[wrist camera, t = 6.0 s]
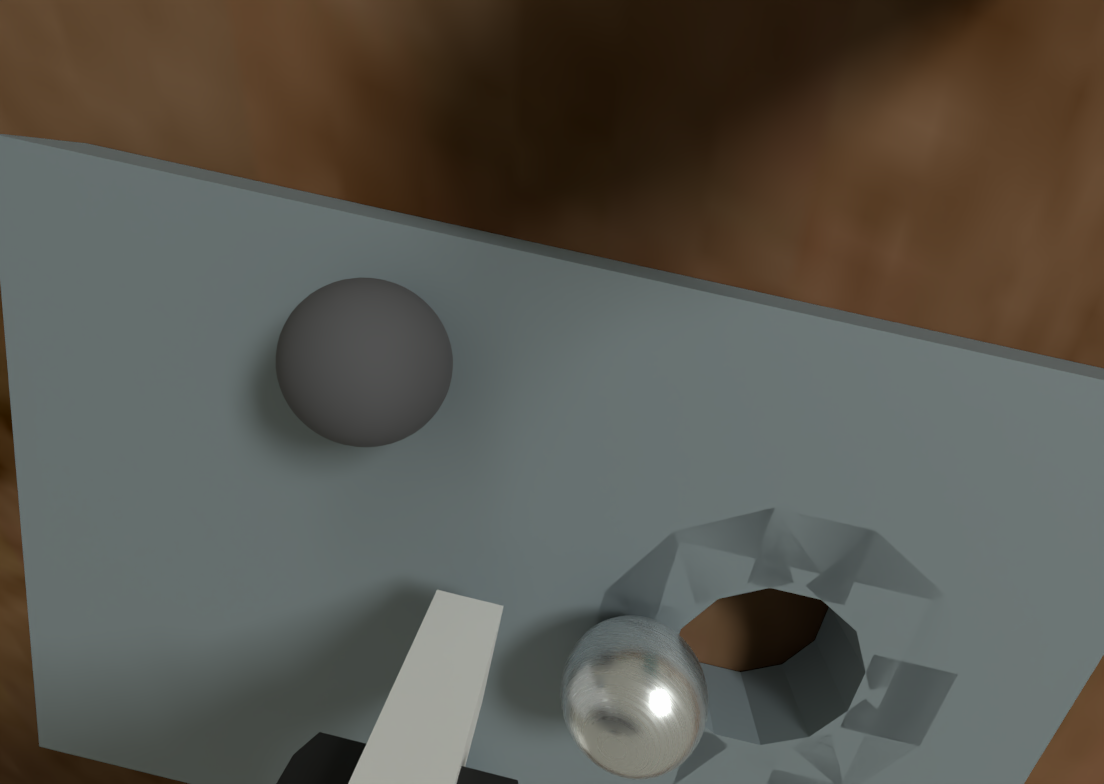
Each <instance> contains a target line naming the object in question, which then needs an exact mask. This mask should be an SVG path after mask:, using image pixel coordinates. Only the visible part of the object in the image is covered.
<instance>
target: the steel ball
mask: <svg viewBox="0 0 1104 784" xmlns="http://www.w3.org/2000/svg"><path fill="white" fill-rule="evenodd" d="M561 705H562V712H563V716H564V719H565V722H566V725H567V727H568V730H569V732H570V734H571V736H572V738H573V740H574V741H575V743H576V744H577V746H578V747H579V749H580V750H581V751H582V752H583V754H584V755H585V756H586V757H587V758H588V759H589V760H591V761H592V762H593V763H594V764H595V765H597V766H598V767H600V768H601V769H603V770H605V771H607V772H609V773H611V774H613V775H616V776H619V777H622V778H627V779H634V780H642V779H651V778H656V777H659V776H662V775H664V774H666V773H669V772H671V771H672V770H674V769H675V768H677V767H678V766H680V765H681V764H682V763H683V762H684V761H685V760H686V759H687V758H688V757H689V756H690V755H691V754H692V752H693V751H694V749H695V748H696V747H697V745H698V743H699V741H700V739H701V737H702V735H703V732H704V728H705V725H706V721H707V716H708V706H709V699H708V688H707V683H706V679H705V676H704V673H703V670H702V667H701V665H700V663H699V661H698V659H697V657H696V655H695V654H694V652H693V650H692V649H691V647H690V646H689V645H688V644H687V643H686V641H685V640H684V639H683V638H682V637H681V636H680V635H679V634H677V633H676V632H675V631H673V630H672V629H671V628H669V627H668V626H666V625H664V624H663V623H660V622H658V621H656V620H653V619H651V618H647V617H642V616H634V615H625V616H618V617H614V618H610V619H607V620H605V621H602V622H600V623H599V624H597V625H595V626H594V627H592V628H591V629H589V630H588V631H587V632H586V633H585V634H584V635H583V636H582V637H581V638H580V639H579V640H578V642H577V643H576V644H575V646H574V647H573V649H572V650H571V652H570V654H569V656H568V658H567V661H566V664H565V666H564V670H563V674H562V680H561Z"/></svg>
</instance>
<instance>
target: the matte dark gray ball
mask: <svg viewBox="0 0 1104 784" xmlns="http://www.w3.org/2000/svg"><path fill="white" fill-rule="evenodd" d="M452 371H453V354H452V349H451V344H450V341H449V337H448V334H447V332H446V330H445V328H444V326H443V324H442V322H441V320H440V319H439V317H438V316H437V314H436V313H435V312H434V311H433V309H432V308H431V307H430V306H429V305H428V304H427V303H426V302H425V301H424V300H423V299H422V298H420V297H419V296H418V295H416V294H415V293H414V292H412V291H410V290H409V289H407V288H405V287H403V286H401V285H398V284H396V283H393V282H389V281H386V280H382V279H376V278H361V277H359V278H351V279H344V280H340V281H336V282H333V283H331V284H328V285H326V286H324V287H322V288H319V289H318V290H316V291H315V292H313V293H311V294H310V295H309V296H308V297H306V298H305V299H304V300H303V301H302V302H301V303H300V304H298V306H297V307H296V308H295V309H294V310H293V311H292V313H291V314H290V316H289V317H288V319H287V321H286V322H285V324H284V326H283V329H282V331H281V333H280V336H279V340H278V343H277V350H276V374H277V379H278V383H279V386H280V389H281V391H282V394H283V396H284V398H285V400H286V402H287V404H288V405H289V407H290V408H291V410H292V411H293V413H294V414H295V415H296V416H297V417H298V418H299V419H300V420H301V421H302V422H303V423H304V424H305V425H306V426H307V427H308V428H310V429H311V430H313V431H314V432H315V433H317V434H319V435H320V436H322V437H324V438H326V439H328V440H331V441H333V442H336V443H340V444H343V445H349V446H355V447H377V446H383V445H387V444H392V443H395V442H397V441H400V440H402V439H404V438H406V437H408V436H410V435H412V434H414V433H415V432H417V431H418V430H419V429H421V428H422V427H423V426H424V425H425V424H426V423H427V422H429V421H430V420H431V419H432V418H433V416H434V415H435V414H436V412H437V411H438V410H439V408H440V406H441V405H442V403H443V401H444V399H445V398H446V395H447V393H448V390H449V387H450V383H451V378H452Z"/></svg>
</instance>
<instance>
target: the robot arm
mask: <svg viewBox="0 0 1104 784" xmlns="http://www.w3.org/2000/svg"><path fill="white" fill-rule="evenodd" d="M503 607H504V606H502V605H498V604H494V603H490V602H486V601H481V600H477V599H473V598H469V597H465V596H461V595H457V594H453V593H449V592H445V591H441V590H437V591H436V593H435V595H434V598H433V600H432V602H431V604H430V606H429V608H428V611H427V613H426V615H425V617H424V619H423V622H422V624H421V626H420V628H419V630H418V632H417V635H416V637H415V639H414V641H413V643H412V646H411V648H410V650H409V652H408V654H407V656H406V659H405V661H404V663H403V665H402V667H401V670H400V672H399V674H398V676H397V678H396V680H395V683H394V685H393V687H392V689H391V691H390V694H389V696H388V698H387V700H386V702H385V705H384V707H383V709H382V711H381V713H380V715H379V718H378V720H377V722H376V724H375V726H374V729H373V731H372V733H371V735H370V737H369V739H368V742H367V744H366V743H362V742H358V741H354V740H350V739H346V738H342V737H338V736H334V735H330V734H326V733H322V732H319V733H318V734H317V735H315V736H314V737H313V738H312V739H311V740H310V741H308V742H307V743H306V744H305V745H304V746H303V747H302V748H300V749H299V750H298V751H297V752H296V753H295V754H293V756H292V757H291V759H290V761H289V763H288V764H287V766H286V768H285V769H284V771H283V773H282V775H281V776H280V778H279V780H278V782H277V783H276V784H518V780H515V779H512V778H508V777H504V776H500V775H496V774H492V773H488V772H484V771H480V770H476V769H472V768H468V767H465V765H466V762H467V758H468V754H469V750H470V747H471V743H472V739H473V735H474V731H475V728H476V724H477V720H478V716H479V712H480V709H481V705H482V701H483V696H484V692H485V687H486V683H487V678H488V674H489V669H490V665H491V661H492V656H493V652H494V647H495V643H496V638H497V634H498V629H499V625H500V620H501V616H502V611H503Z"/></svg>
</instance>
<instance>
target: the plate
mask: <svg viewBox="0 0 1104 784" xmlns="http://www.w3.org/2000/svg"><path fill="white" fill-rule="evenodd" d="M359 277H361V278H376V279H382V280H386V281H389V282H393V283H396V284H398V285H401V286H403V287H405V288H407V289H409V290H410V291H412V292H414V293H415V294H416V295H418V296H419V297H420V298H422V299H423V300H424V301H425V302H426V303H427V304H428V305H429V306H430V307H431V308H432V309H433V311H434V312H435V313H436V314H437V316H438V317H439V319H440V320H441V322H442V324H443V326H444V328H445V330H446V332H447V334H448V337H449V341H450V344H451V349H452V354H453V371H452V378H451V383H450V387H449V390H448V393H447V395H446V398H445V399H444V401H443V403H442V405H441V406H440V408H439V410H438V411H437V412H436V414H435V415H434V416H433V418H432V419H431V420H430V421H429V422H427V423H426V424H425V425H424V426H423V427H422V428H421V429H419V430H418V431H417V432H415V433H414V434H412V435H410V436H408V437H406V438H404V439H402V440H400V441H397V442H395V443H392V444H387V445H383V446H377V447H355V446H349V445H343V444H340V443H336V442H333V441H331V440H328V439H326V438H324V437H322V436H320V435H319V434H317V433H315V432H314V431H313V430H311V429H310V428H308V427H307V426H306V425H305V424H304V423H303V422H302V421H301V420H300V419H299V418H298V417H297V416H296V415H295V414H294V413H293V411H292V410H291V408H290V407H289V405H288V404H287V402H286V400H285V398H284V396H283V394H282V391H281V389H280V386H279V383H278V379H277V374H276V350H277V343H278V340H279V336H280V333H281V331H282V329H283V326H284V324H285V322H286V321H287V319H288V317H289V316H290V314H291V313H292V311H293V310H294V309H295V308H296V307H297V306H298V304H300V303H301V302H302V301H303V300H304V299H305V298H306V297H308V296H309V295H310V294H311V293H313V292H315V291H316V290H318V289H319V288H322V287H324V286H326V285H328V284H331V283H333V282H336V281H340V280H344V279H351V278H359ZM0 282H1V294H2V306H3V318H4V330H5V342H6V354H7V366H8V378H9V390H10V402H11V414H12V426H13V438H14V450H15V462H16V474H17V486H18V498H19V509H20V521H21V533H22V545H23V557H24V569H25V581H26V593H27V605H28V617H29V629H30V641H31V653H32V665H33V677H34V689H35V701H36V713H37V725H38V737H39V747H43V748H48V749H52V750H56V751H60V752H64V753H68V754H72V755H76V756H80V757H84V758H88V759H92V760H96V761H100V762H104V763H108V764H112V765H116V766H121V767H125V768H129V769H133V770H137V771H141V772H145V773H149V774H153V775H157V776H161V777H165V778H169V779H173V780H177V781H181V782H185V783H189V784H276V783H277V782H278V780H279V778H280V776H281V775H282V773H283V771H284V769H285V768H286V766H287V764H288V763H289V761H290V759H291V757H292V756H293V754H295V753H296V752H297V751H298V750H299V749H300V748H302V747H303V746H304V745H305V744H306V743H307V742H308V741H310V740H311V739H312V738H313V737H314V736H315V735H317V734H318V733H319V732H322V733H326V734H330V735H334V736H338V737H342V738H346V739H350V740H354V741H358V742H362V743H366V744H367V742H368V739H369V737H370V735H371V733H372V731H373V729H374V726H375V724H376V722H377V720H378V718H379V715H380V713H381V711H382V709H383V707H384V705H385V702H386V700H387V698H388V696H389V694H390V691H391V689H392V687H393V685H394V683H395V680H396V678H397V676H398V674H399V672H400V670H401V667H402V665H403V663H404V661H405V659H406V656H407V654H408V652H409V650H410V648H411V646H412V643H413V641H414V639H415V637H416V635H417V632H418V630H419V628H420V626H421V624H422V622H423V619H424V617H425V615H426V613H427V611H428V608H429V606H430V604H431V602H432V600H433V598H434V595H435V593H436V591H437V590H441V591H445V592H449V593H453V594H457V595H461V596H465V597H469V598H473V599H477V600H481V601H486V602H490V603H494V604H498V605H502V606H504V607H503V611H502V616H501V620H500V625H499V629H498V634H497V638H496V643H495V647H494V652H493V656H492V661H491V665H490V669H489V674H488V678H487V683H486V687H485V692H484V696H483V701H482V705H481V709H480V712H479V716H478V720H477V724H476V728H475V731H474V735H473V739H472V743H471V747H470V750H469V754H468V758H467V762H466V765H465V767H468V768H472V769H476V770H480V771H484V772H488V773H492V774H496V775H500V776H504V777H508V778H512V779H515V780H518V784H1024V782H1025V781H1026V779H1027V778H1028V776H1029V774H1030V773H1031V771H1032V769H1033V768H1034V766H1035V765H1036V763H1037V761H1038V760H1039V758H1040V757H1041V755H1042V753H1043V752H1044V750H1045V748H1046V747H1047V745H1048V744H1049V742H1050V740H1051V739H1052V737H1053V735H1054V734H1055V732H1056V731H1057V729H1058V727H1059V726H1060V724H1061V723H1062V721H1063V719H1064V718H1065V716H1066V714H1067V713H1068V711H1069V710H1070V708H1071V706H1072V705H1073V703H1074V701H1075V700H1076V698H1077V697H1078V695H1079V693H1080V692H1081V690H1082V689H1083V687H1084V685H1085V684H1086V682H1087V680H1088V679H1089V677H1090V676H1091V674H1092V672H1093V671H1094V669H1095V667H1096V666H1097V664H1098V663H1099V661H1100V659H1101V658H1102V656H1103V655H1104V369H1103V368H1099V367H1094V366H1090V365H1085V364H1081V363H1076V362H1072V361H1067V360H1063V359H1058V358H1054V357H1049V356H1045V355H1040V354H1036V353H1031V352H1026V351H1022V350H1017V349H1013V348H1008V347H1004V346H999V345H995V344H990V343H986V342H981V341H977V340H972V339H968V338H963V337H959V336H954V335H950V334H945V333H941V332H936V331H932V330H927V329H923V328H918V327H914V326H909V325H905V324H900V323H896V322H891V321H887V320H882V319H877V318H873V317H868V316H864V315H859V314H855V313H850V312H846V311H841V310H837V309H832V308H828V307H823V306H819V305H814V304H810V303H805V302H801V301H796V300H792V299H787V298H783V297H778V296H774V295H769V294H765V293H760V292H756V291H751V290H747V289H742V288H737V287H733V286H728V285H724V284H719V283H715V282H710V281H706V280H701V279H697V278H692V277H688V276H683V275H679V274H674V273H670V272H665V271H661V270H656V269H652V268H647V267H643V266H638V265H634V264H629V263H625V262H620V261H616V260H611V259H607V258H602V257H598V256H593V255H588V254H584V253H579V252H575V251H570V250H566V249H561V248H557V247H552V246H548V245H543V244H539V243H534V242H530V241H525V240H521V239H516V238H512V237H507V236H503V235H498V234H494V233H489V232H485V231H480V230H476V229H471V228H467V227H462V226H458V225H453V224H448V223H444V222H439V221H435V220H430V219H426V218H421V217H417V216H412V215H408V214H403V213H399V212H394V211H390V210H385V209H381V208H376V207H372V206H367V205H363V204H358V203H354V202H349V201H345V200H340V199H336V198H331V197H327V196H322V195H318V194H313V193H309V192H304V191H299V190H295V189H290V188H286V187H281V186H277V185H272V184H268V183H263V182H259V181H254V180H250V179H245V178H241V177H236V176H232V175H227V174H223V173H218V172H214V171H209V170H205V169H200V168H196V167H191V166H187V165H182V164H178V163H173V162H169V161H164V160H159V159H155V158H150V157H146V156H141V155H137V154H132V153H128V152H123V151H119V150H114V149H110V148H105V147H101V146H96V145H92V144H87V143H78V142H69V141H60V140H51V139H42V138H33V137H24V136H15V135H5V134H0ZM767 588H773V589H777V590H781V591H786V592H790V593H794V594H798V595H803V596H807V597H811V598H816V599H820V600H822V601H823V602H824V603H825V604H827V605H828V606H829V608H828V610H827V613H826V615H825V617H824V620H823V622H822V624H821V627H820V629H819V632H818V634H817V636H816V639H815V641H813V642H812V643H810V644H809V645H808V646H806V647H805V648H804V649H802V650H801V651H800V652H798V653H797V654H795V655H794V656H793V657H791V658H790V659H789V660H787V661H786V662H785V663H783V664H781V665H776V666H771V667H765V668H760V669H755V670H750V671H744V672H737V671H733V670H729V669H725V668H720V667H716V666H712V665H708V664H704V663H700V662H699V663H700V665H701V667H702V670H703V673H704V676H705V679H706V683H707V688H708V699H709V706H708V716H707V721H706V725H705V728H704V732H703V735H702V737H701V739H700V741H699V743H698V745H697V747H696V748H695V749H694V751H693V752H692V754H691V755H690V756H689V757H688V758H687V759H686V760H685V761H684V762H683V763H682V764H681V765H680V766H678V767H677V768H675V769H674V770H672V771H671V772H669V773H666V774H664V775H662V776H659V777H656V778H651V779H642V780H634V779H627V778H622V777H619V776H616V775H613V774H611V773H609V772H607V771H605V770H603V769H601V768H600V767H598V766H597V765H595V764H594V763H593V762H592V761H591V760H589V759H588V758H587V757H586V756H585V755H584V754H583V752H582V751H581V750H580V749H579V747H578V746H577V744H576V743H575V741H574V740H573V738H572V736H571V734H570V732H569V730H568V727H567V725H566V722H565V719H564V716H563V712H562V705H561V680H562V674H563V670H564V666H565V664H566V661H567V658H568V656H569V654H570V652H571V650H572V649H573V647H574V646H575V644H576V643H577V642H578V640H579V639H580V638H581V637H582V636H583V635H584V634H585V633H586V632H587V631H588V630H589V629H591V628H592V627H594V626H595V625H597V624H599V623H600V622H602V621H605V620H607V619H610V618H614V617H618V616H625V615H634V616H642V617H647V618H651V619H653V620H656V621H658V622H660V623H663V624H664V625H666V626H668V627H669V628H671V629H672V630H673V631H675V632H676V633H677V634H679V633H680V630H681V628H682V627H684V626H685V625H686V624H687V623H689V622H690V621H691V620H692V619H694V618H695V617H696V616H697V615H699V614H700V613H701V612H702V611H704V610H705V609H706V608H707V607H709V606H710V605H711V604H712V603H714V602H715V601H716V600H717V599H720V598H725V597H729V596H734V595H739V594H743V593H748V592H753V591H757V590H762V589H767Z"/></svg>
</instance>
